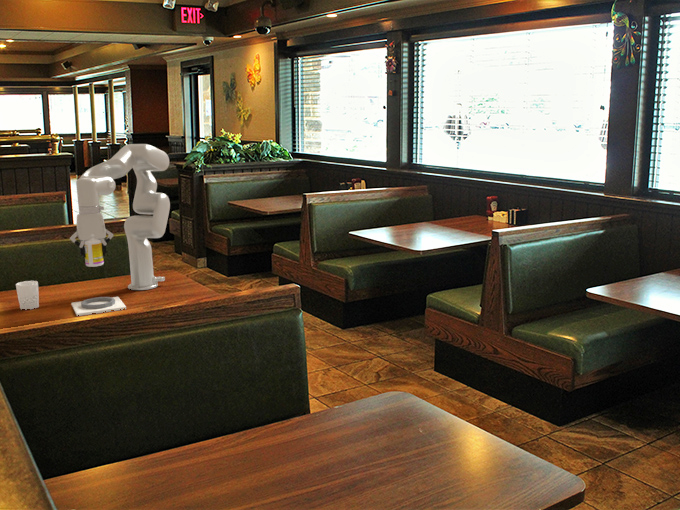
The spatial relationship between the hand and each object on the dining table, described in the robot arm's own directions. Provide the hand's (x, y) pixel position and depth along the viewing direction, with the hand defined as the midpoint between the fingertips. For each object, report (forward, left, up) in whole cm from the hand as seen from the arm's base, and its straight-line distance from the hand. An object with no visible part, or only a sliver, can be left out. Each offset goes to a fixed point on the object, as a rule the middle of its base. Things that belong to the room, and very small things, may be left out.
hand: (93, 255), depth 257 cm
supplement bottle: (0, 0, -4) cm, 4 cm away
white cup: (+24, -14, -21) cm, 35 cm away
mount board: (0, 0, -21) cm, 21 cm away
